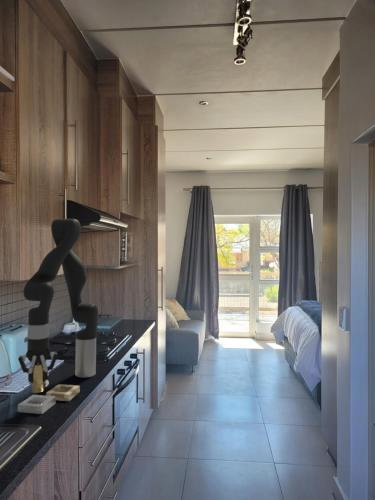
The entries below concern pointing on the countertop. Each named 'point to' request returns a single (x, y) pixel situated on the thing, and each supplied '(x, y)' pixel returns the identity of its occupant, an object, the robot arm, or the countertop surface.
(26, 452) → the countertop surface
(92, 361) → the robot arm
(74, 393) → the rack block
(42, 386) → the brass peg
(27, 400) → the socket block
